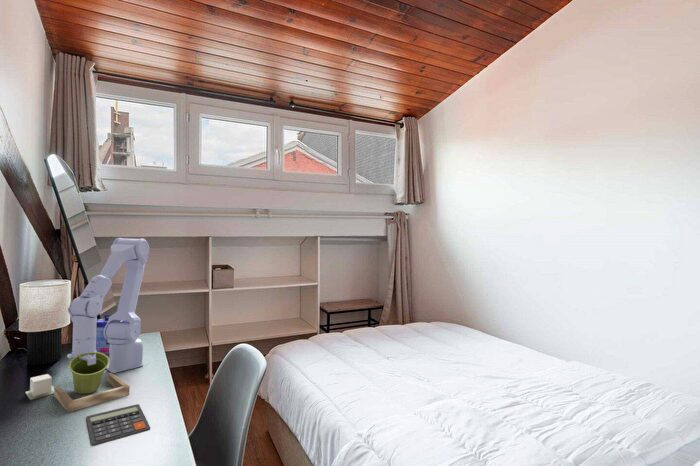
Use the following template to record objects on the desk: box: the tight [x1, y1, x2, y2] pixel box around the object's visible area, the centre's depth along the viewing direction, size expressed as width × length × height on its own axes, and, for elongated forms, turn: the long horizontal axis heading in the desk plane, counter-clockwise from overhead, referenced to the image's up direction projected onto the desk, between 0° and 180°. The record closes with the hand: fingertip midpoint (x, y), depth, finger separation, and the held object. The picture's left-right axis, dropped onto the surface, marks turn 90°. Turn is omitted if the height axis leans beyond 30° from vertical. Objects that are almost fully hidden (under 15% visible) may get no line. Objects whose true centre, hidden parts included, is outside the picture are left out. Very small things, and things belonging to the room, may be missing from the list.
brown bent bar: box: [25, 372, 130, 413], centre depth 106 cm, size 19×21×2 cm
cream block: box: [29, 373, 53, 396], centre depth 106 cm, size 4×4×4 cm
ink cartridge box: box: [96, 314, 128, 355], centre depth 141 cm, size 10×6×14 cm, turn 104°
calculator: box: [85, 403, 151, 446], centre depth 91 cm, size 12×1×15 cm
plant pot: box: [68, 352, 109, 395], centre depth 107 cm, size 9×9×9 cm
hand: (83, 382), depth 111 cm, fingers closed
